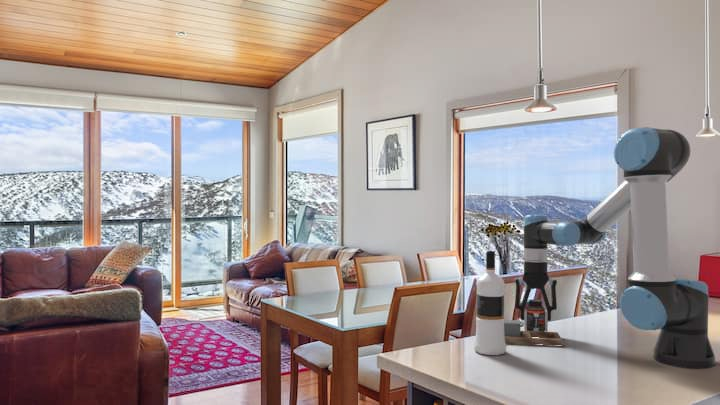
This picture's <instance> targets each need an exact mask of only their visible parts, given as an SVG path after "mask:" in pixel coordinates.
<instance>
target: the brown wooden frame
mask: <svg viewBox="0 0 720 405" xmlns="http://www.w3.org/2000/svg"><path fill="white" fill-rule="evenodd" d="M532 337H539V338H532ZM505 343H506V345H520V344H543V345H562V346H563V339H562V337H561V336H560V334H559V333H558V331H557V332H556V331H545V332H541V331H525V330H520V337H510V336H505Z"/></svg>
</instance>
